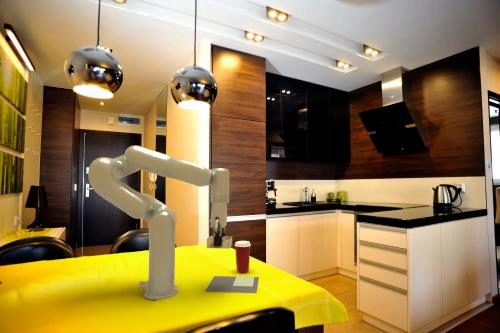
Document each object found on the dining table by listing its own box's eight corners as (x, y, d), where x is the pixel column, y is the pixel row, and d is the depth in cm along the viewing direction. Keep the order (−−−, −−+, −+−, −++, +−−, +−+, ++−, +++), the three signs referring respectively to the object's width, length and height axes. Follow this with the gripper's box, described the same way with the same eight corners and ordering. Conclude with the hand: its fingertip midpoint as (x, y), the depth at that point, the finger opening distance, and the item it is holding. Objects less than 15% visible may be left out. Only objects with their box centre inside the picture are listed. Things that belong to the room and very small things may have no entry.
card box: (206, 248, 106) (206, 238, 106) (210, 244, 112) (210, 235, 112) (229, 248, 105) (229, 239, 106) (232, 245, 111) (232, 236, 112)
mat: (204, 292, 104) (204, 291, 104) (214, 276, 122) (214, 275, 122) (256, 294, 102) (256, 292, 102) (258, 277, 120) (258, 276, 120)
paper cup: (254, 272, 128) (254, 242, 129) (242, 276, 122) (242, 244, 123) (242, 268, 133) (242, 239, 134) (230, 272, 128) (230, 242, 129)
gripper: (215, 198, 119) (215, 240, 118) (205, 200, 102) (204, 249, 101) (232, 198, 118) (232, 240, 117) (225, 200, 101) (224, 249, 100)
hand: (219, 244), depth 109 cm, fingers closed on card box, 6 cm apart
